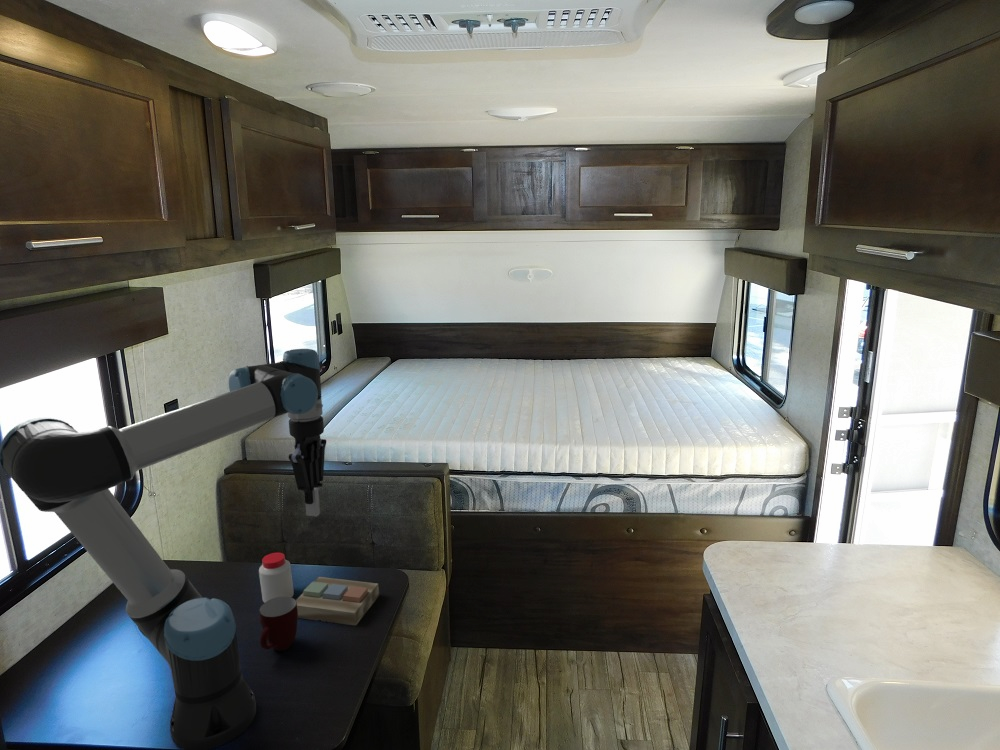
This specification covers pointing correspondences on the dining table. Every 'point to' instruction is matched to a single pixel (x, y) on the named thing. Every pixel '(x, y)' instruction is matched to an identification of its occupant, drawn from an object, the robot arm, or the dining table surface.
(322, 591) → the tile sage
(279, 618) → the mug
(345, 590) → the tile slate
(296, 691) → the dining table surface
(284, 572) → the pill bottle
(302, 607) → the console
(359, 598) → the tile terracotta
